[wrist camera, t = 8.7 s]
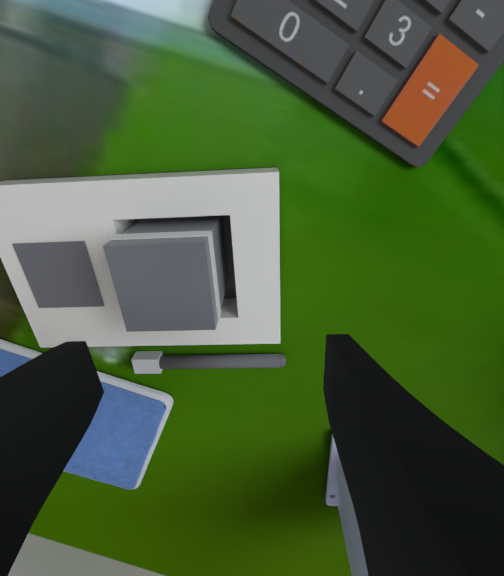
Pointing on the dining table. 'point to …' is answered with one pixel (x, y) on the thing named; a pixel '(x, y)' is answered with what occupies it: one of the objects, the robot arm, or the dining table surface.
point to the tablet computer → (111, 426)
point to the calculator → (376, 59)
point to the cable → (202, 361)
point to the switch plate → (118, 218)
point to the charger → (169, 273)
